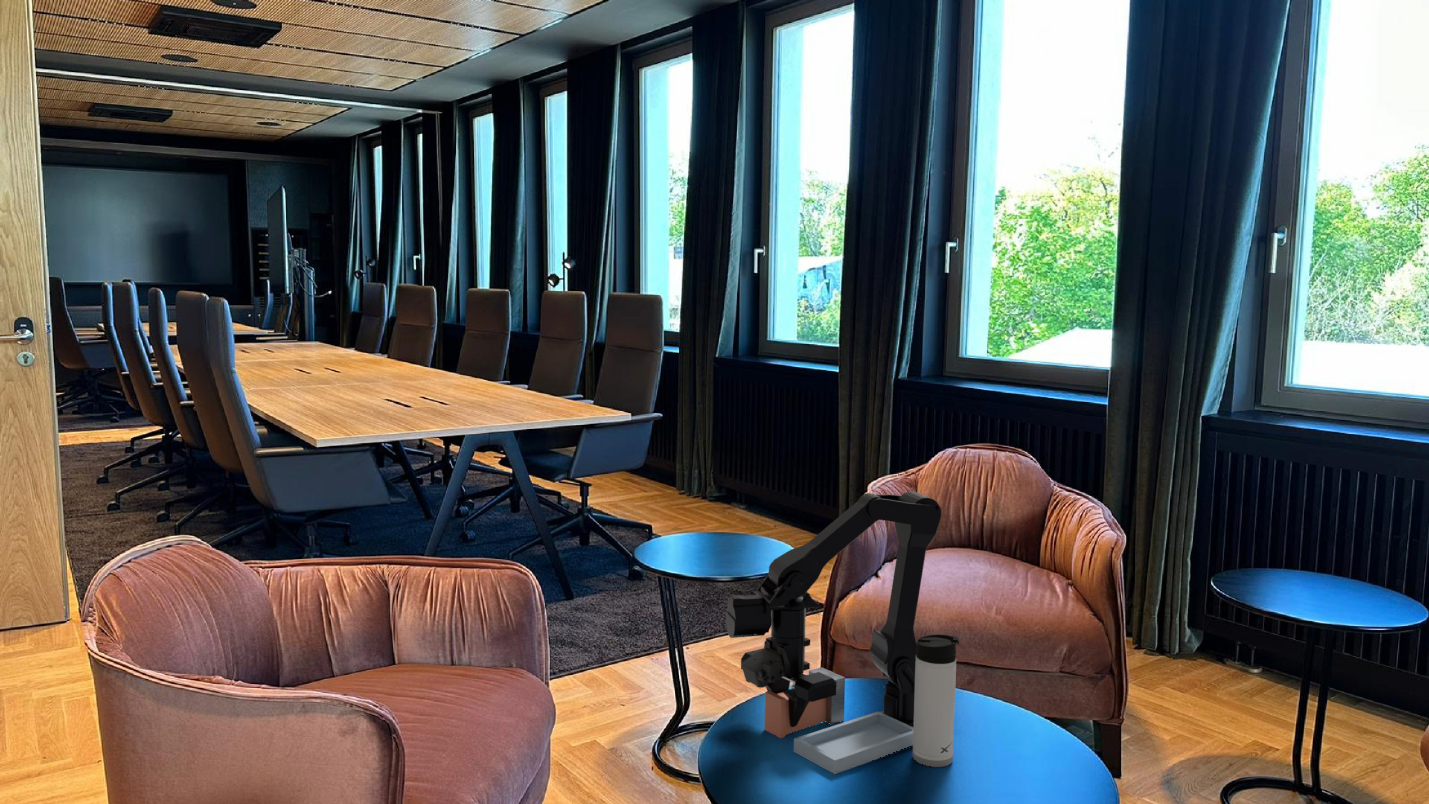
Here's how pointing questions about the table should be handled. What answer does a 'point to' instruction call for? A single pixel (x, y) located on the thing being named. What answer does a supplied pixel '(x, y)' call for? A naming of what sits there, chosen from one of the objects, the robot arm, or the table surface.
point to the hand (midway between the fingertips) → (786, 722)
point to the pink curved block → (779, 714)
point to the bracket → (834, 697)
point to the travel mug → (934, 700)
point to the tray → (854, 742)
